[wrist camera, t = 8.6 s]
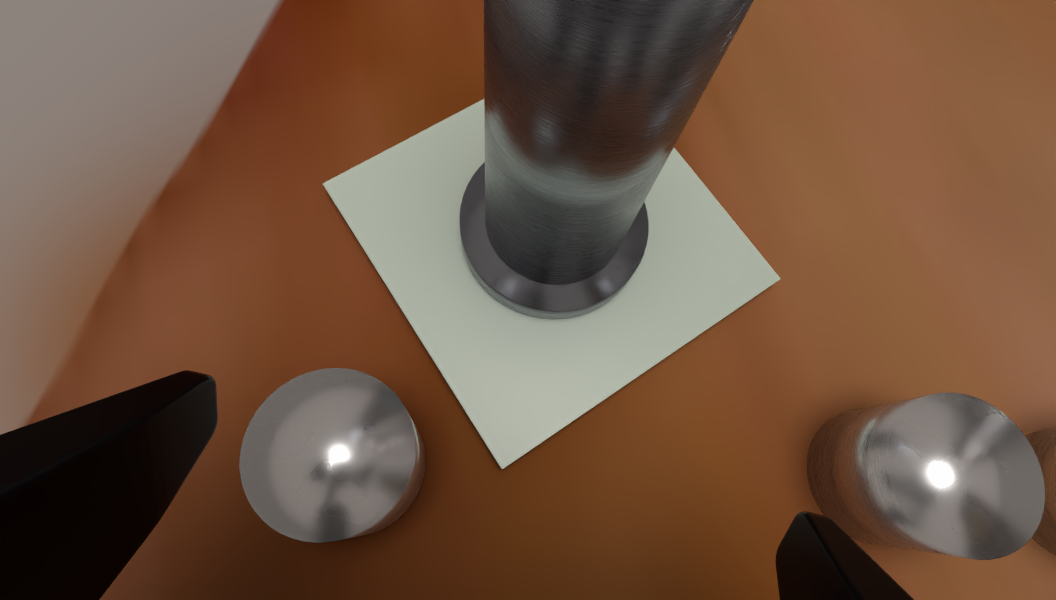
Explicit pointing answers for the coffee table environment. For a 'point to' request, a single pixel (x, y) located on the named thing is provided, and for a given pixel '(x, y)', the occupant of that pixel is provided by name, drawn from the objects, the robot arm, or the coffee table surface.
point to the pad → (523, 341)
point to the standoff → (581, 140)
